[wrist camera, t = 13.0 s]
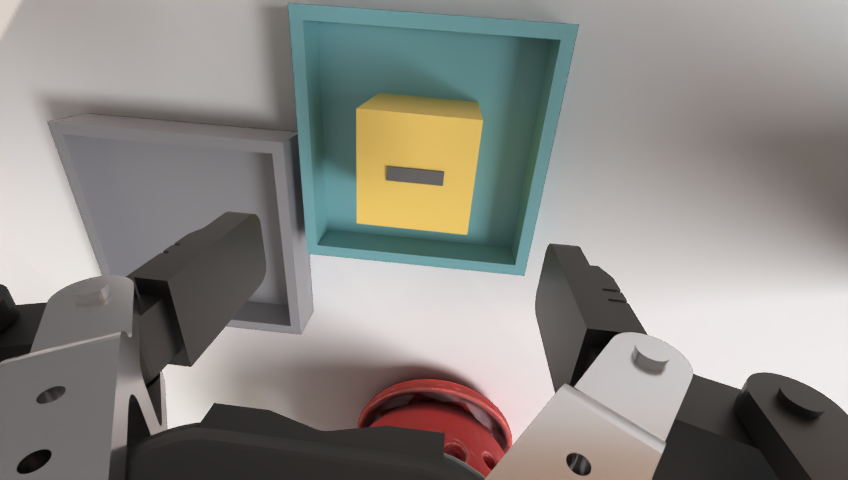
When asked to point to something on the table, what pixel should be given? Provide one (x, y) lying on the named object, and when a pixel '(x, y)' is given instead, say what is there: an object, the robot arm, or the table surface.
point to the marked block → (417, 162)
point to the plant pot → (445, 419)
